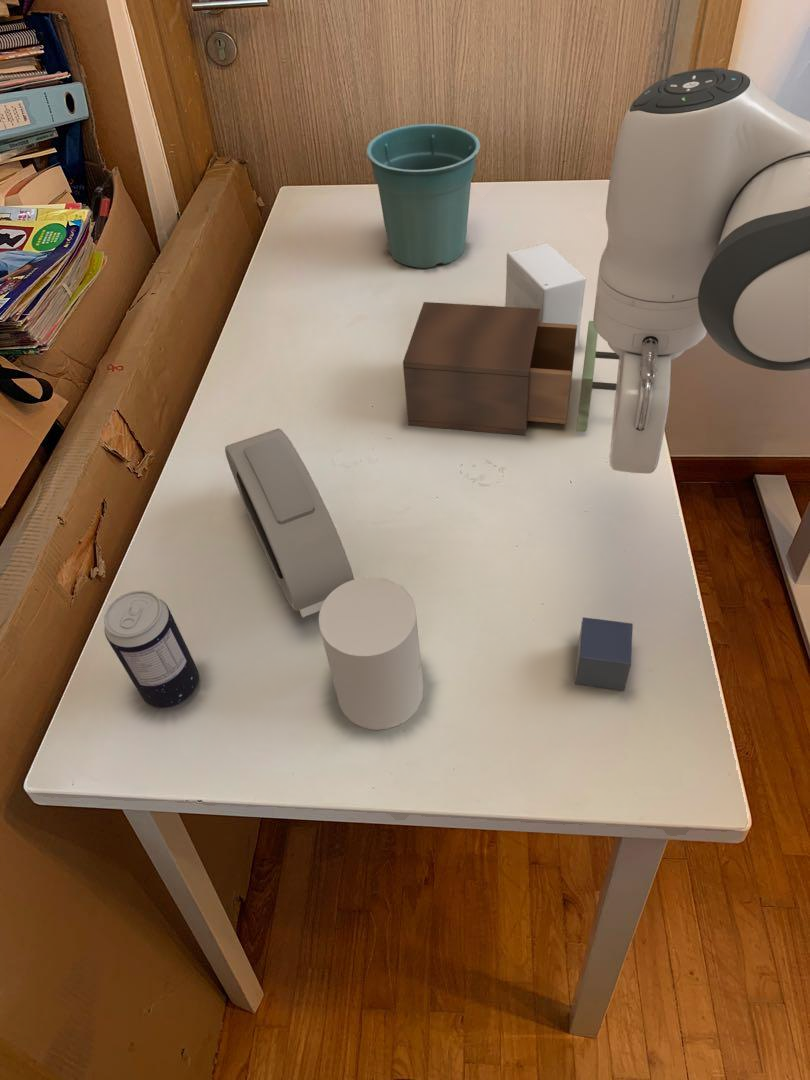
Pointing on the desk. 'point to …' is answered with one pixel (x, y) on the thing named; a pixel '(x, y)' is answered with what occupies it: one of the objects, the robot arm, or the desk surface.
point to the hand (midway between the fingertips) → (629, 439)
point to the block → (604, 654)
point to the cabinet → (470, 367)
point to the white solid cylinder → (373, 651)
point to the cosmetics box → (545, 285)
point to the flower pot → (424, 190)
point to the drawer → (561, 374)
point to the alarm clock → (289, 519)
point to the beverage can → (151, 648)
